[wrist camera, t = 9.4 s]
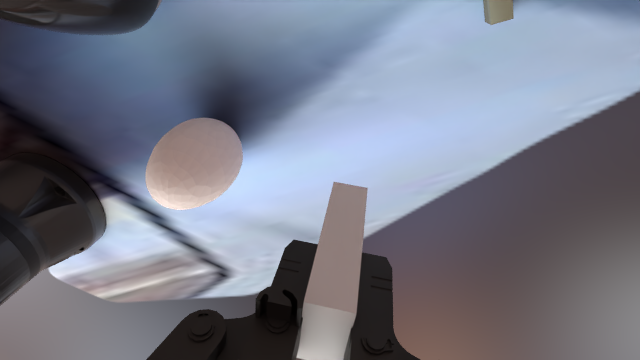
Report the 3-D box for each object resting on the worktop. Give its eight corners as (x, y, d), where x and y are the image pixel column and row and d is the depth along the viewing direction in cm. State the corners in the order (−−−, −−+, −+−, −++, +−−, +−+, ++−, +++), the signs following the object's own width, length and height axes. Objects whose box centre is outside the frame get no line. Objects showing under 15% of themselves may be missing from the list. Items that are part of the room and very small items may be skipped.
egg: (264, 164, 38) (218, 233, 28) (204, 169, 40) (141, 234, 30) (245, 99, 34) (185, 151, 24) (181, 107, 36) (100, 158, 26)
